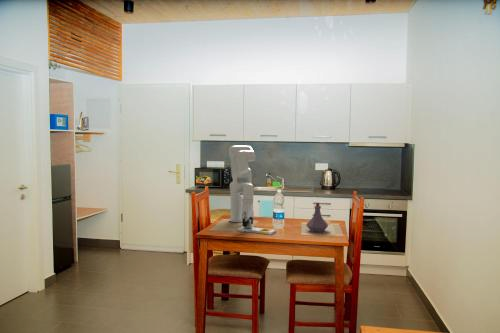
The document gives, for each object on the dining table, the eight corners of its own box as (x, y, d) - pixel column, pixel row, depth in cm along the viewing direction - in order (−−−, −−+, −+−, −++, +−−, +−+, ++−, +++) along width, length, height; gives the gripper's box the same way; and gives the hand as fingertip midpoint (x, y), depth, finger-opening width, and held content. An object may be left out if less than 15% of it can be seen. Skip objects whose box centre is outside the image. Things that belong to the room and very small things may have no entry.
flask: (302, 228, 289) (303, 201, 288) (324, 228, 292) (325, 201, 290) (309, 233, 273) (309, 205, 272) (332, 233, 275) (332, 204, 274)
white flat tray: (243, 228, 288) (243, 225, 288) (276, 232, 277) (276, 229, 276) (237, 230, 280) (237, 228, 280) (270, 234, 268) (270, 232, 268)
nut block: (246, 229, 284) (246, 218, 284) (251, 230, 282) (251, 219, 282) (243, 230, 280) (243, 219, 280) (248, 231, 279) (248, 220, 278)
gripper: (248, 199, 289) (248, 222, 290) (237, 202, 274) (237, 227, 275) (257, 200, 286) (257, 223, 287) (247, 203, 271) (246, 228, 272)
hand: (247, 225), depth 281 cm, fingers open, 9 cm apart
